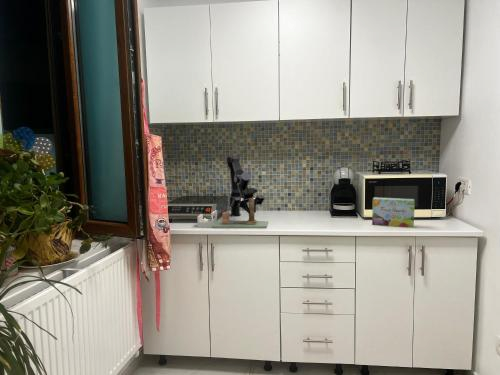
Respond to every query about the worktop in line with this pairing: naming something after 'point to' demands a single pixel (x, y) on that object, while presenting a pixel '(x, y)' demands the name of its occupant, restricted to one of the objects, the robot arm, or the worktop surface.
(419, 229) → the worktop surface
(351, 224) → the worktop surface
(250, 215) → the post with bar block
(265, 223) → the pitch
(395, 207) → the snack box
